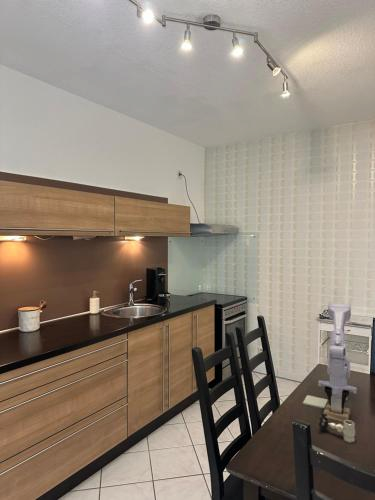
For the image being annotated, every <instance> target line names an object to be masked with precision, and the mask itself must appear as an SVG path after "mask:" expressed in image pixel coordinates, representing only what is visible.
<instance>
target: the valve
mask: <svg viewBox="0 0 375 500" xmlns="http://www.w3.org/2000/svg"><path fill="white" fill-rule="evenodd" d="M326 416H327V414H324V413H323V412H322V413H321V416H319V423H318V427H319V429H318V430H319V431H320V432H325V430H326V429H328V428H329V427H330V428H332V429H336V431H337V432H338V433H340V434H341V433H342V434H343V440H344V442H347V443H350V444H351V443H354V442H355V435H356V429H355V427H356V425H355V422H354V421H352V420H349V419H348V420H344V422H343V424H342V423H338V424H336V423H334V422H330V418H326Z"/></svg>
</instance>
